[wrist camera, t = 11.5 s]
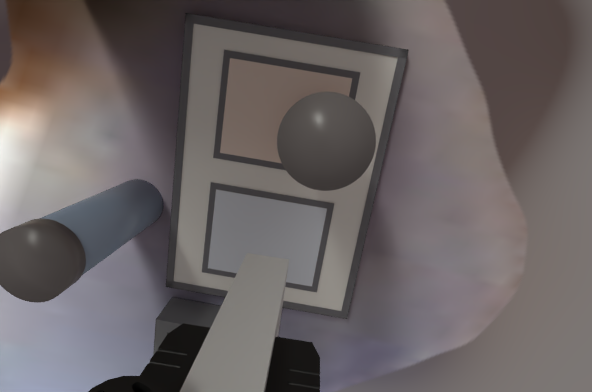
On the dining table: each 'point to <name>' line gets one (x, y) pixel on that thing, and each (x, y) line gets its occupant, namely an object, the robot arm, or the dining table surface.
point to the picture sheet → (270, 159)
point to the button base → (183, 317)
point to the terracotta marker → (326, 141)
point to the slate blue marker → (74, 240)
